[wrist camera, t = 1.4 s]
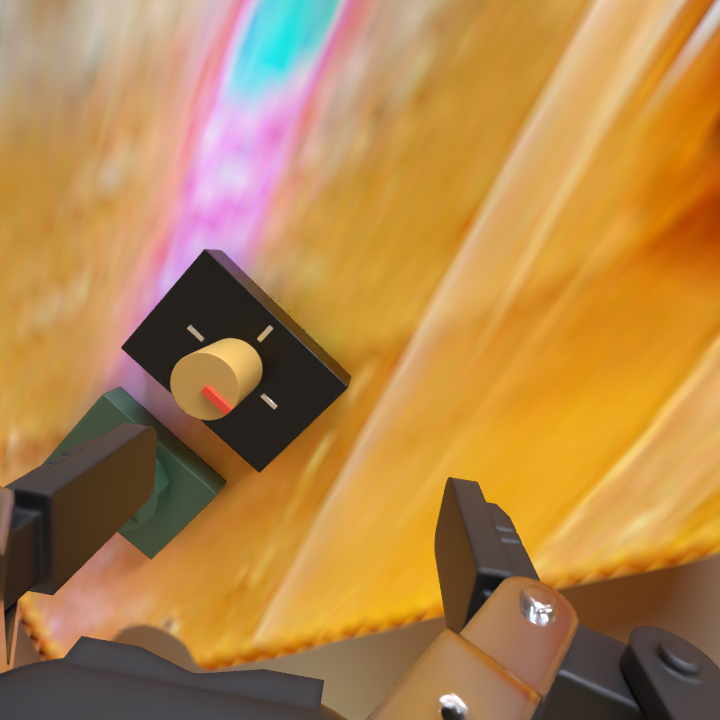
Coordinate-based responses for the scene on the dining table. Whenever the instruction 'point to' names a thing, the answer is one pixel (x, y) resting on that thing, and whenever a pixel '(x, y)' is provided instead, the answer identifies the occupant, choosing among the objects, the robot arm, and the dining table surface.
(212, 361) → the knob
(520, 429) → the dining table surface
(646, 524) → the dining table surface
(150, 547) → the button block
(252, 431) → the panel
